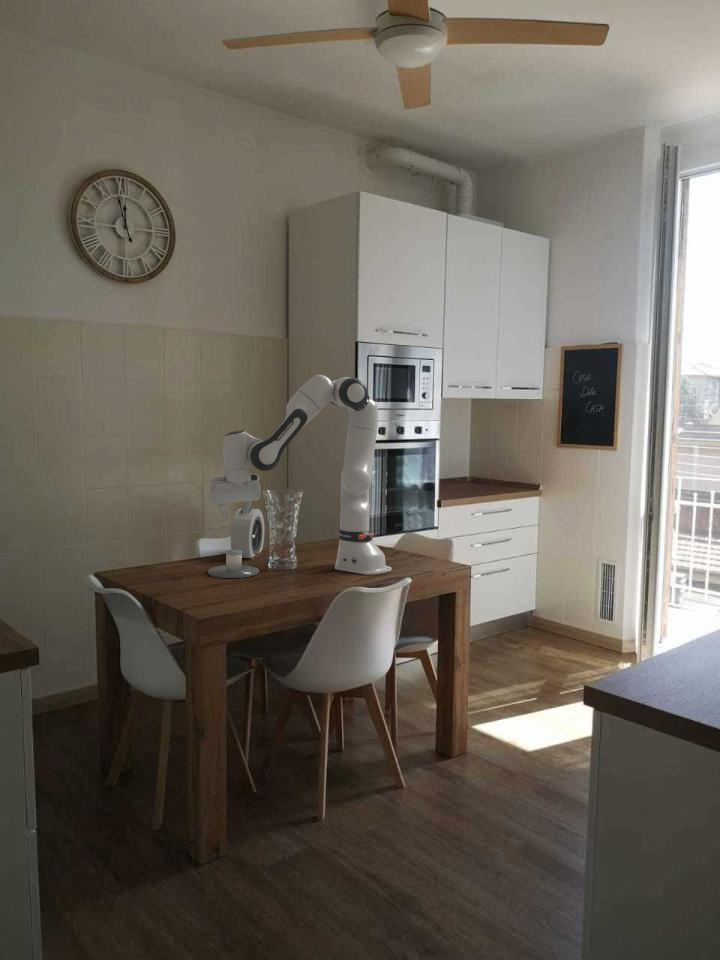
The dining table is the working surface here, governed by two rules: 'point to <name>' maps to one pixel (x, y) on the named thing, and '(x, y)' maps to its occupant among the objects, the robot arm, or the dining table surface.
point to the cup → (233, 560)
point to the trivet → (222, 573)
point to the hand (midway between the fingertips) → (235, 515)
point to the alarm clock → (248, 532)
